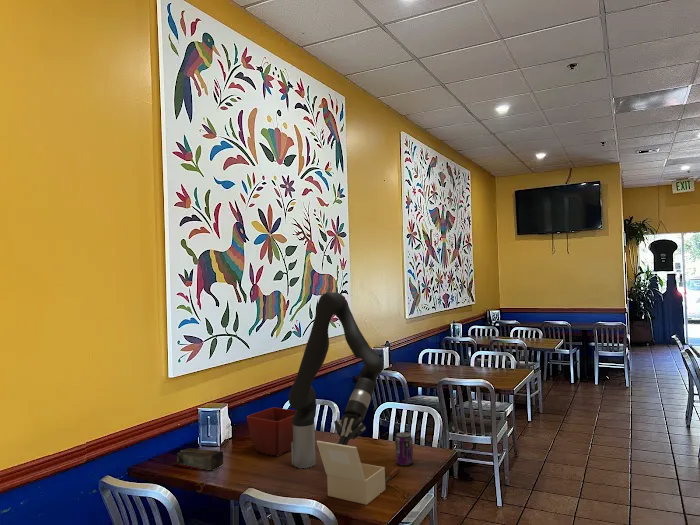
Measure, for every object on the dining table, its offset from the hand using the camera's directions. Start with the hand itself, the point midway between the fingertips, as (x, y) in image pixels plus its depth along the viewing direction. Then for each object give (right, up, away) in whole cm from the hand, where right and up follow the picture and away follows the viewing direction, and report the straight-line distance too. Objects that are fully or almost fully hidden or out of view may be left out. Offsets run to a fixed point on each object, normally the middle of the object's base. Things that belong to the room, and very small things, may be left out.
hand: (341, 448), depth 175 cm
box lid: (0, -4, -1) cm, 4 cm away
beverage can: (+26, -19, +34) cm, 47 cm away
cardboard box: (+6, -19, +7) cm, 21 cm away
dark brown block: (-61, -23, +40) cm, 77 cm away
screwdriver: (+19, -19, +19) cm, 33 cm away
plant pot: (-31, -22, +56) cm, 68 cm away
